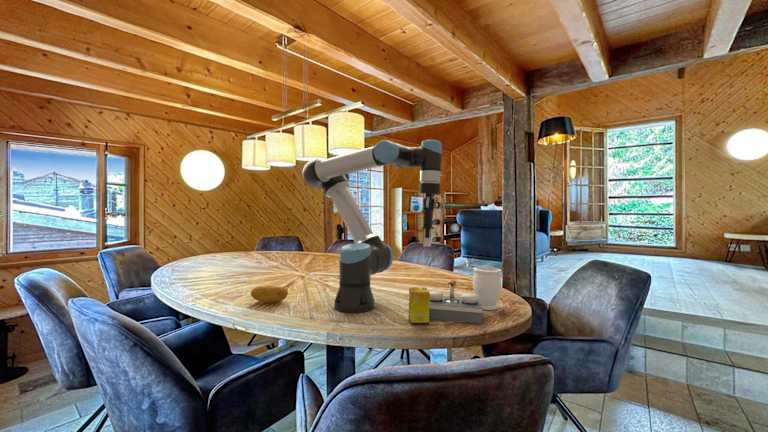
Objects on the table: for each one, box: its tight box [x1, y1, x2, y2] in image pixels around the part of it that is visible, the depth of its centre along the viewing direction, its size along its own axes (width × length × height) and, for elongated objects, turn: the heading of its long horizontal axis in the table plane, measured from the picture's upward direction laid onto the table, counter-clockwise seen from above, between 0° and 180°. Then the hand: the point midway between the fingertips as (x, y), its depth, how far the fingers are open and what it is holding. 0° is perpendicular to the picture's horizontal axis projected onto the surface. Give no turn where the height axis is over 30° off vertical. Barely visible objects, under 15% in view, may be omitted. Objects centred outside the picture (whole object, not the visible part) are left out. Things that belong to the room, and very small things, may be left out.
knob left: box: [428, 290, 444, 302], centre depth 119 cm, size 6×6×7 cm
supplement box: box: [408, 286, 430, 326], centre depth 110 cm, size 6×6×11 cm
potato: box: [250, 285, 289, 304], centre depth 128 cm, size 8×14×7 cm, turn 86°
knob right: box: [460, 292, 478, 305], centre depth 116 cm, size 6×6×7 cm
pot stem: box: [446, 279, 458, 304], centre depth 117 cm, size 4×4×12 cm
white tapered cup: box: [472, 265, 502, 311], centre depth 127 cm, size 11×10×15 cm
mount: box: [429, 295, 484, 324], centre depth 117 cm, size 20×12×5 cm, turn 78°
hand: (427, 246), depth 123 cm, fingers closed
